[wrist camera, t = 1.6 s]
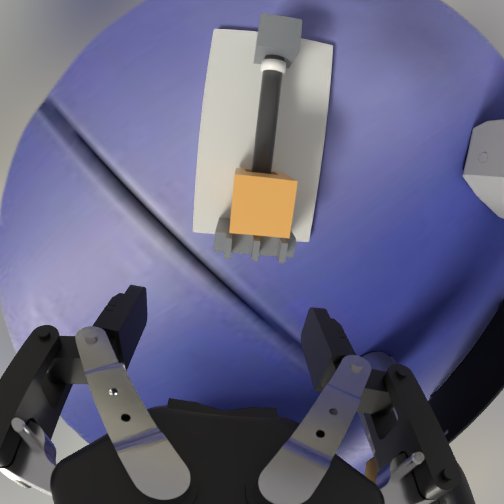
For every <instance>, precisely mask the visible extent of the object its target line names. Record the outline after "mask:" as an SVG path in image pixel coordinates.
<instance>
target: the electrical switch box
mask: <svg viewBox="0 0 504 504" xmlns="http://www.w3.org/2000/svg"><path fill="white" fill-rule="evenodd" d="M462 176H463V177H464V179H465V180H466V181H467V183H468V184H469V186H470V187H471V188H472V190H473V191H474V193H475V194H476V195H477V197H479V199H480V200H481V201H483V202H484V203H485V204H486V205H487V206H488V207H489V208H490V209H491V210H492V211H493V212H494V213H495V214H496V215H497V216H498V217H500V218H503V219H504V119H501V120H491V121H486V122H484V123H482V124H480V125H478V126H476V127H474V128H473V130H472V135H471V140H470V145H469V150H468V155H467V159H466V163H465V168H464V172H463V175H462Z"/></svg>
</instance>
